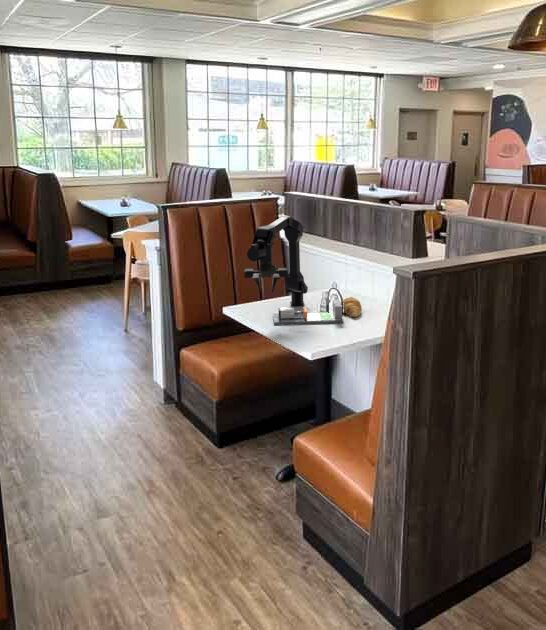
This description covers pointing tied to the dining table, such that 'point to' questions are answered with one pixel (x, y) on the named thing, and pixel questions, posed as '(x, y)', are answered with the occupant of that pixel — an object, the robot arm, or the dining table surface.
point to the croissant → (352, 307)
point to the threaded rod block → (288, 312)
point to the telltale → (305, 312)
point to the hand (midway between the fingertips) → (266, 292)
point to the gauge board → (314, 317)
